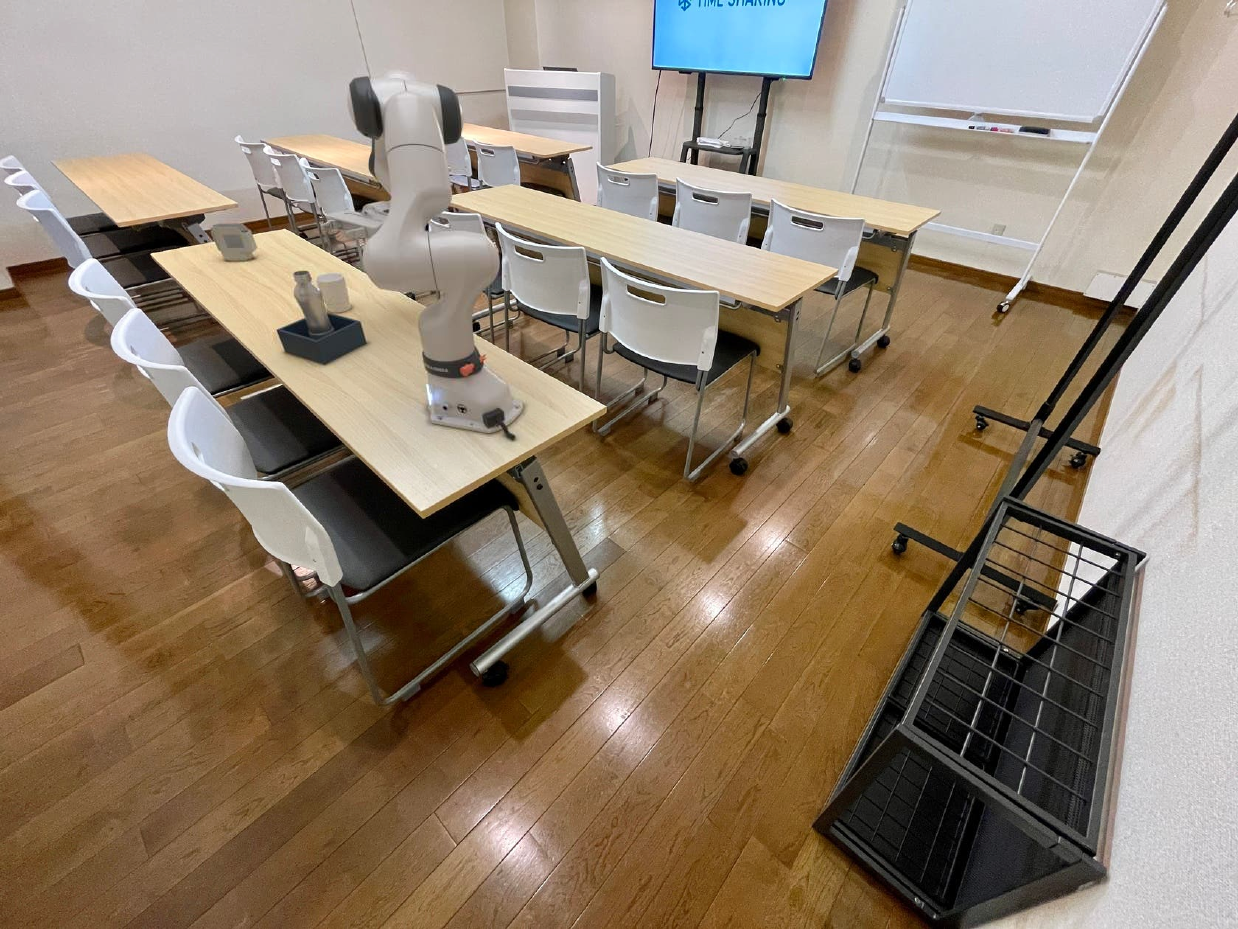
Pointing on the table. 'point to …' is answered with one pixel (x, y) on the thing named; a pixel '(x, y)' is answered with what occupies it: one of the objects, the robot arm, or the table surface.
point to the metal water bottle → (312, 305)
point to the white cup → (334, 291)
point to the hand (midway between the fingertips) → (334, 231)
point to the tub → (322, 339)
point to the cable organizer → (233, 241)
